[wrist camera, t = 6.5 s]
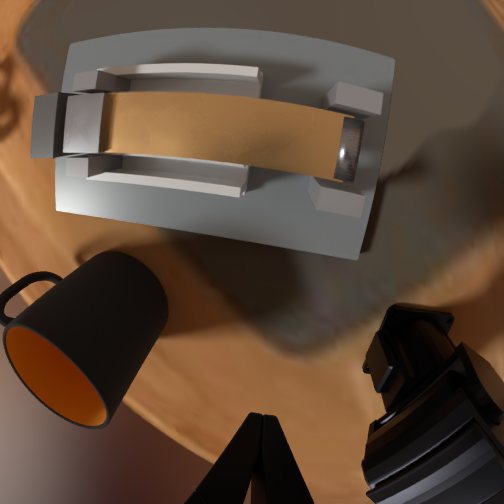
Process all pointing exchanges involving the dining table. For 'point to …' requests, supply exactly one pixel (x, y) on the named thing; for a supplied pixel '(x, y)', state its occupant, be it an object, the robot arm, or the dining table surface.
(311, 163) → the strap
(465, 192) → the dining table surface
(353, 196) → the board
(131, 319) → the mug
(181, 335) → the dining table surface
